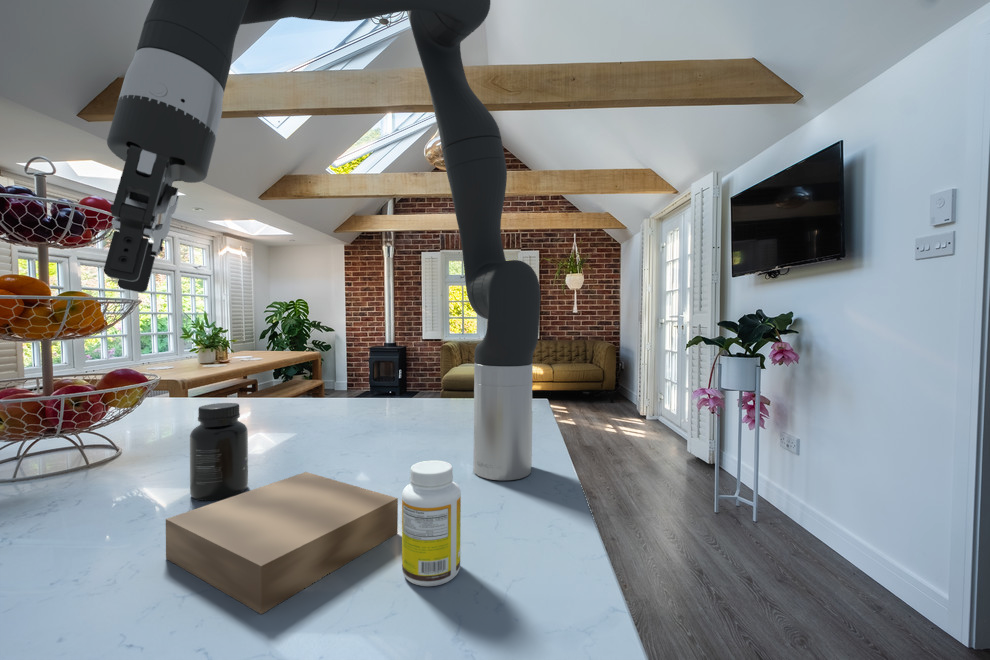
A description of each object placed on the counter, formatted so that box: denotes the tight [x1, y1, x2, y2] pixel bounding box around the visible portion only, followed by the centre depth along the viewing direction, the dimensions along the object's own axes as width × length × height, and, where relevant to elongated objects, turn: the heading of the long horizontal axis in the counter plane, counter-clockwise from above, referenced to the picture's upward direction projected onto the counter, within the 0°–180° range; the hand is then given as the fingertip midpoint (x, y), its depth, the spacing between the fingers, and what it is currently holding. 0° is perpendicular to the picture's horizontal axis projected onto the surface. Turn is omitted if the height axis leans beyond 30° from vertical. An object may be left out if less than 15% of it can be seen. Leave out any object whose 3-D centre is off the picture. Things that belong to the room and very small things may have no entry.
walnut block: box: [165, 471, 399, 615], centre depth 47 cm, size 16×16×4 cm
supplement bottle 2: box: [401, 459, 462, 587], centre depth 42 cm, size 6×6×10 cm
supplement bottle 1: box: [189, 402, 249, 501], centre depth 61 cm, size 7×7×12 cm
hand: (126, 285), depth 39 cm, fingers open, 8 cm apart
